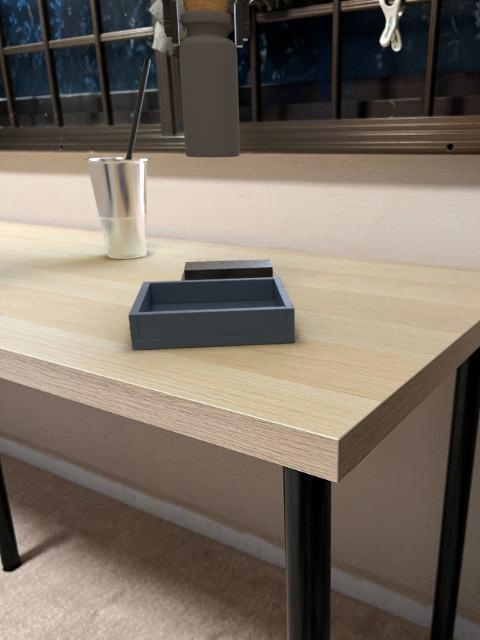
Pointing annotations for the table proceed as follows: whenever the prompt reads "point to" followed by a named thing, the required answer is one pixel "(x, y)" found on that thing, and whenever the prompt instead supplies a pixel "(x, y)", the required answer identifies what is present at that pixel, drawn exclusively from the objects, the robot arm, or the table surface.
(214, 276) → the scrub brush
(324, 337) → the table surface
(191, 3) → the bottle
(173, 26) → the robot arm
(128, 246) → the glass
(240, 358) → the table surface
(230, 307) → the tray
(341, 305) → the table surface
